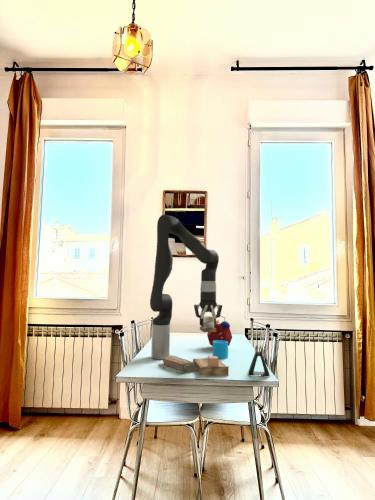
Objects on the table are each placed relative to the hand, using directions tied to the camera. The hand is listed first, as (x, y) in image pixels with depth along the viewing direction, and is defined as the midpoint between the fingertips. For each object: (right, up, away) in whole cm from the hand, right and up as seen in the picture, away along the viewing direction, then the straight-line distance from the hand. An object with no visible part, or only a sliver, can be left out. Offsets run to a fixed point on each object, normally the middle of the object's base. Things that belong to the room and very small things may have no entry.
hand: (207, 326), depth 160 cm
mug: (+9, -22, +22) cm, 32 cm away
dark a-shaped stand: (+22, -19, -12) cm, 31 cm away
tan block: (0, -2, 0) cm, 2 cm away
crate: (+2, -15, -12) cm, 19 cm away
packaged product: (-14, -19, -4) cm, 24 cm away
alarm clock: (+9, -23, +42) cm, 49 cm away
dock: (+1, -19, -6) cm, 20 cm away
